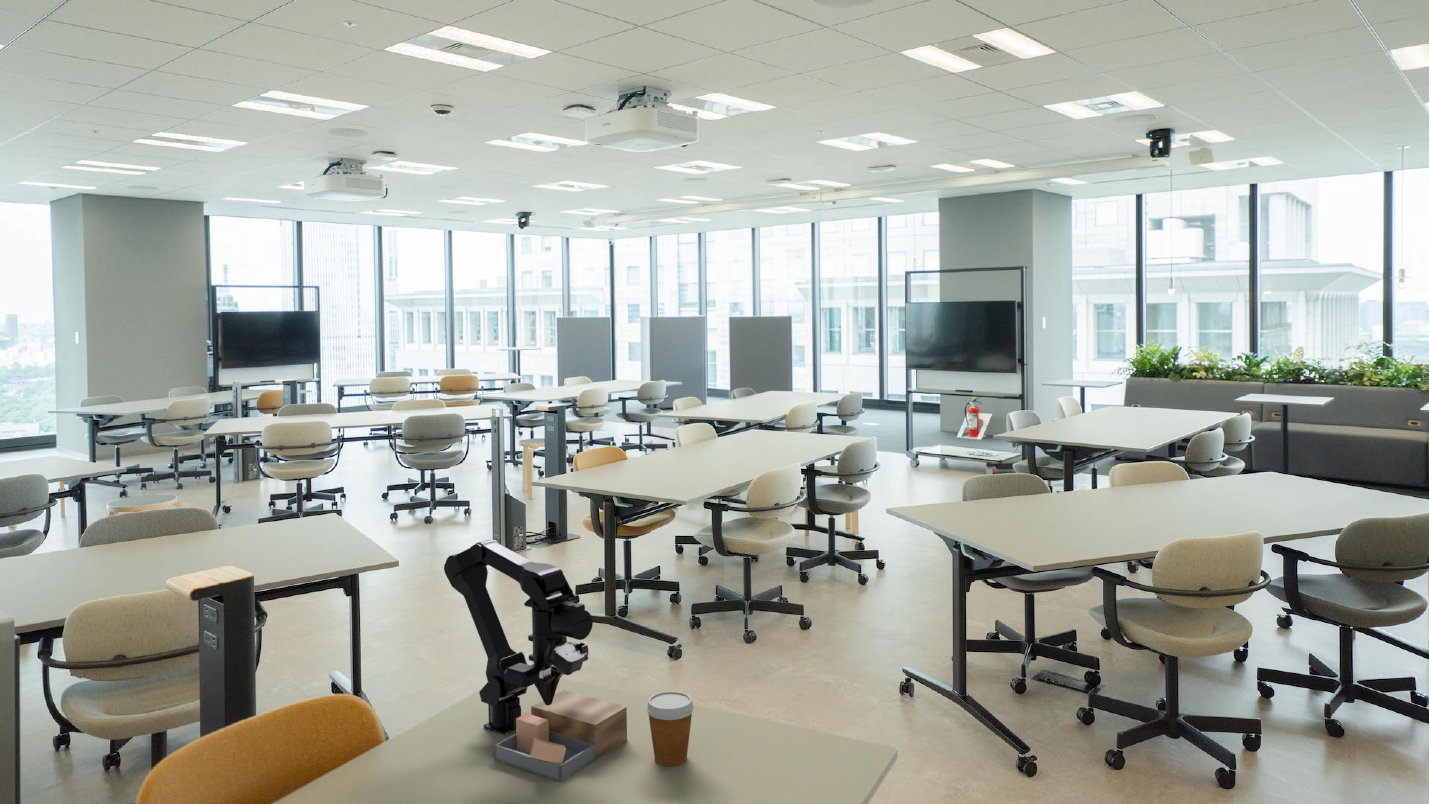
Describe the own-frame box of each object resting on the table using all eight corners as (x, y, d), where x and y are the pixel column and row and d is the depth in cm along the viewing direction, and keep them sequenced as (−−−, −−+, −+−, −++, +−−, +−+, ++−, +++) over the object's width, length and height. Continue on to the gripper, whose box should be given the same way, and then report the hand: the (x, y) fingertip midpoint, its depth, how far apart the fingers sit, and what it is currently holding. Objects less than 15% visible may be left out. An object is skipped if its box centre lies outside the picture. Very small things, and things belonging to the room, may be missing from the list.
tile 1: (527, 741, 185) (516, 747, 182) (526, 713, 184) (516, 718, 182) (549, 748, 182) (538, 754, 179) (548, 719, 181) (538, 725, 179)
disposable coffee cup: (688, 772, 172) (688, 711, 171) (640, 768, 174) (639, 707, 173) (699, 750, 182) (699, 692, 181) (653, 746, 183) (653, 688, 182)
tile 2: (564, 745, 177) (559, 761, 176) (534, 738, 176) (529, 754, 176) (566, 748, 172) (561, 764, 171) (535, 740, 171) (530, 757, 170)
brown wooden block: (531, 739, 187) (531, 706, 186) (564, 721, 195) (563, 690, 195) (596, 759, 178) (595, 725, 177) (627, 739, 186) (626, 706, 186)
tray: (494, 760, 178) (494, 745, 178) (531, 739, 187) (531, 725, 187) (560, 782, 169) (559, 766, 169) (596, 759, 178) (595, 744, 178)
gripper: (543, 651, 171) (544, 731, 173) (607, 624, 187) (608, 697, 188) (501, 640, 178) (503, 717, 179) (567, 615, 193) (568, 686, 194)
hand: (548, 704), depth 185 cm, fingers closed
